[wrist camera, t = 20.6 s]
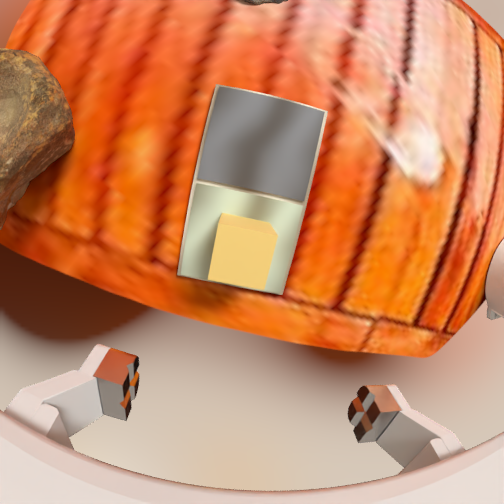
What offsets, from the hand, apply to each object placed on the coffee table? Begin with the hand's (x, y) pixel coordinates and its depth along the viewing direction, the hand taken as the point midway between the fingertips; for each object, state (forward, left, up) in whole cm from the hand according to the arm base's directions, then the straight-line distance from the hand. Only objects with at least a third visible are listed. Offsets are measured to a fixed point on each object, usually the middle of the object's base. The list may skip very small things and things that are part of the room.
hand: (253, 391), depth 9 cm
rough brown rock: (+28, -9, -23) cm, 37 cm away
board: (0, -5, -22) cm, 23 cm away
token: (0, 0, -21) cm, 21 cm away
